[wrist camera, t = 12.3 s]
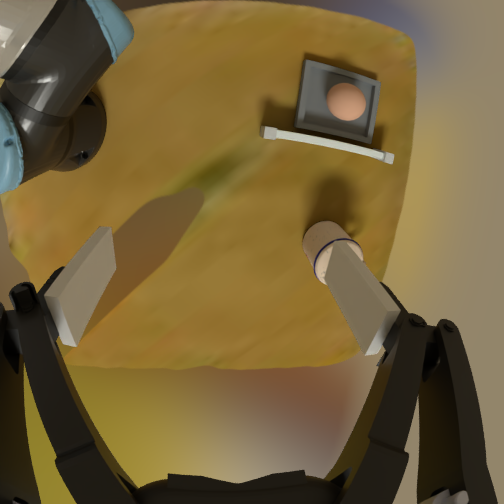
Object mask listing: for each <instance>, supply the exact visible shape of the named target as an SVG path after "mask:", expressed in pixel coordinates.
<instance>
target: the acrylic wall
mask: <svg viewBox="0 0 504 504" xmlns="http://www.w3.org/2000/svg"><path fill="white" fill-rule="evenodd" d="M260 136H261V137H262V138H266V139H273V140H276V138H281V139H288V140H294V141H300V142H306V143H311V144H317V145H322V146H327V147H332V148H337V149H341V150H346V151H350V152H354V153H359V154H363V155H367V156H371V157H372V158H375V159H378V160H380V161H383V162H386V163H389V164H393V159H394V154H391V153H388V152H385V151H382V150H379V149H375V148H373V149H369V148H365V147H361V146H357V145H353V144H349V143H345V142H341V141H336V140H332V139H327V138H322V137H317V136H312V135H307V134H301V133H296V132H290V131H284V130H277V128H274V127H268V126H261V130H260Z"/></svg>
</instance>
